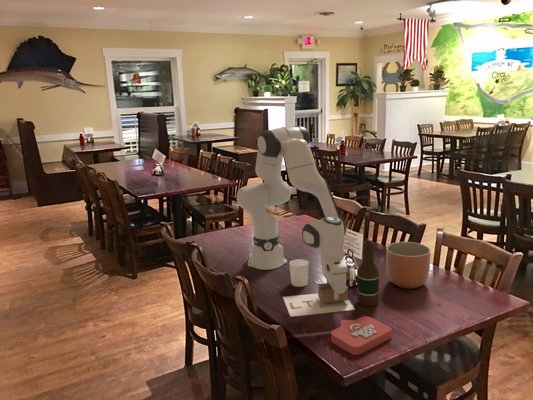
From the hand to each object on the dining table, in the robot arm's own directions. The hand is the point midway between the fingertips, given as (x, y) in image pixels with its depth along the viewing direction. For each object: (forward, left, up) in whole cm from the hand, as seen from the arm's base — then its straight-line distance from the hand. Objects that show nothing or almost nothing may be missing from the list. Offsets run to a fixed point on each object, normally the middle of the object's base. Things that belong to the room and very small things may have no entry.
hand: (333, 294), depth 171 cm
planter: (-10, +34, -4) cm, 36 cm away
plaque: (+24, +2, -4) cm, 25 cm away
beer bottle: (+2, +13, -4) cm, 14 cm away
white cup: (-19, -9, -4) cm, 21 cm away
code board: (0, -6, -4) cm, 7 cm away
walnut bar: (0, 0, -2) cm, 2 cm away
